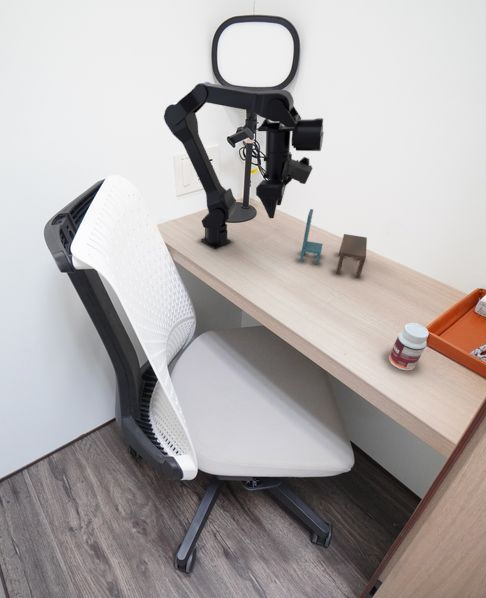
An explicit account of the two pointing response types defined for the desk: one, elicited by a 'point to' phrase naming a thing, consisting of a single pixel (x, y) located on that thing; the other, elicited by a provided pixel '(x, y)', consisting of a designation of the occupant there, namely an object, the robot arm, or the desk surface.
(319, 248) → the chair
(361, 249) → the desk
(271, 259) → the desk surface
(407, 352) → the pill bottle
